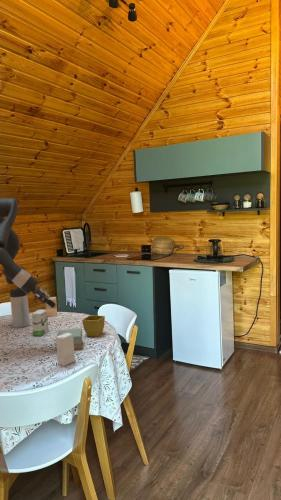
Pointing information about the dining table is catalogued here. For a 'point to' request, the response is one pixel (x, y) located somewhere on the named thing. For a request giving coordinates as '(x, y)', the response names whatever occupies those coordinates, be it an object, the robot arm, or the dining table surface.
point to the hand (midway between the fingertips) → (54, 304)
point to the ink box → (39, 322)
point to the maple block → (49, 310)
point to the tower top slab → (76, 334)
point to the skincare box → (65, 349)
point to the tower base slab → (78, 346)
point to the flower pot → (93, 325)
